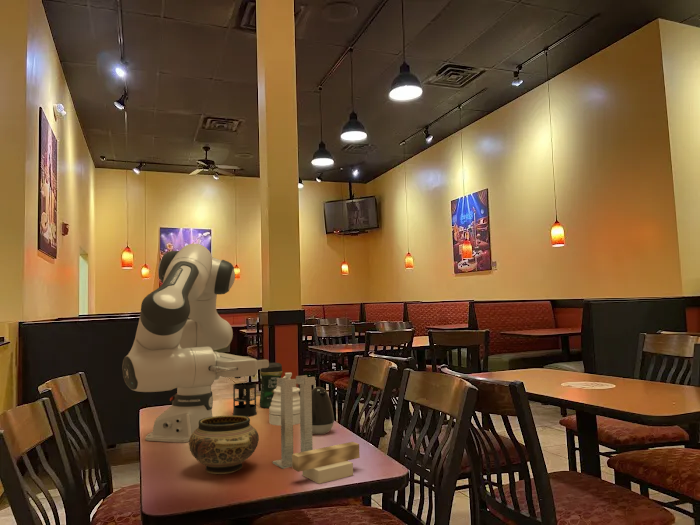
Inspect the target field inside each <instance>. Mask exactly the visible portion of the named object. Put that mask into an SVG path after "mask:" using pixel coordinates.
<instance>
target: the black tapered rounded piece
mask: <svg viewBox="0 0 700 525" xmlns="http://www.w3.org/2000/svg"><path fill="white" fill-rule="evenodd" d="M311 390H312V435H325V434H328V433H329V432H330V431H331V430H332V428H333V426H334V423H335V415H334V409H333V405H332V400H331V398H330V396H329V393H328V392H327V390H326V389H325V388H324V387H321V386H316V387H314V388H312V389H311Z"/></svg>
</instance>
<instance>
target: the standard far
mask: <svg viewBox="0 0 700 525" xmlns="http://www.w3.org/2000/svg"><path fill="white" fill-rule="evenodd" d="M295 379H296V385H299V388H300V391H299V396H300V424H299V425H300V426H299V428H300V430H299V431H300V452H304V451H309V450H314V449H313V448H314V447H313V434H312V390H313V389H312V386H313V385H314V386H315V385H316V376H309V377H308V375H307V374H305V375H295Z"/></svg>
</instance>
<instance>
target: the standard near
mask: <svg viewBox="0 0 700 525" xmlns="http://www.w3.org/2000/svg"><path fill="white" fill-rule="evenodd" d="M277 386H279V387H281V426H280V437H281V438H280V441H281V445H280V446H281V447H280V448H281V449H280V450H281V457H280V459H276V460H272V464H273V465H275V466H277V467H279V468H281V469H288V468H292V454H294V425H293V389H292V387H296V388H297V384H296V378H291V379H289V378H288V377H285V378H283V377H281V378H277Z"/></svg>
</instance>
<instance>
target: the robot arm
mask: <svg viewBox="0 0 700 525" xmlns="http://www.w3.org/2000/svg"><path fill="white" fill-rule="evenodd" d="M157 273H158V279H159V280H160V282H161V285H160V286H159V287H158V288H156V289H155V290H153V291H151V292H150V293H148V294H147V295H146V296H145V297H144V298H143V300H142V302H141V305H140V312H139V319H138V325H137V328H136V332H135V336H134V337H135V338H134V340H133V344H132V346H131V349H130V351H128V354H127V355H126V356H124V358H123V359H122V365H121V366H122V367H121V370H122V378H123V380H124V383H125V385H126V386H127V387H128V388H129V390H131V391H135V392H141V393H155V392H156V393H157V392H165V391H172V390H174V389H176V390H177V391H176V392H177V393H175V394H174V395H172V396H171V397H170V398H169V401H170V402H171V405H170V406H169V407H168V408H167V409H166V410H164V411H163V412H162V413H160V415H158V416H157V417H156V418H155V420H154V423H153V427H152V431H151V432H149V433H147V435H146V436H145V441H149V442H150V441H152V442H165V443H166V442H167V443H181V444H182V443H189V440H190V436H191V435H192V433H193V432H194V431H195V430H196V429H197V428H198V427H199V420H201V419H203V418H208V417H214V416H213V405H214V404H213V403H214V398H213V391H212V385H213V384H214V383H215V381H217V380H219V379H220V377H221V378H234V377H241V378H242V377H244V376H245V377H253V375H255V376H256V375H257V374H258V370H260V369H261V368H268V367H269V363H270V361H269V359H256V358H253V357H252V356H247V355H246V356H247V357H243V356H244V355H243V356H242V355H235V354H231V353H225V352H218V351H217V350H221V349H226V348H227V347H228V346H229V345H230V344H231V342H232V340H233V337H234V335H233V334H234V332H233V328H232V325H231V324H230V322H229V321H227V320H226V319H224V318H222V317H221V316H220V315H219V313H218V310H217V298H218V295H225V294H227V293H229V292H230V290H231V289H232V287H233V286H234V283H235V279H236V273H235V267H234V265H233V264H232V263H231V262H229V261H227V260H226V259H219V258H216V257H213V256H212V253H211V252H210V250H209V249H208V248H207V247H206V246H204V245H203V244H199V243H189V244H187V245H185V246H183V247H182V248H181V249H180V250H170V251H167V252H165V253H164V254H163V255H162V257H161V258H160V260H159V263H158V268H157Z"/></svg>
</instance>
